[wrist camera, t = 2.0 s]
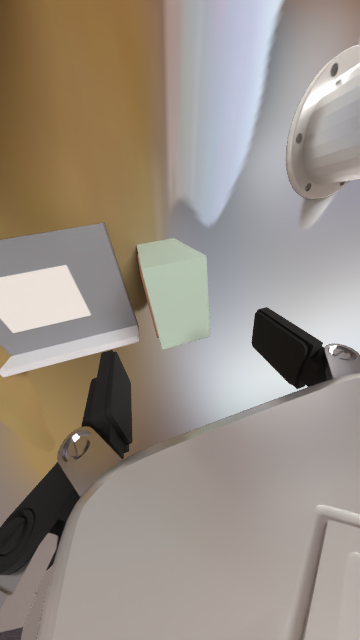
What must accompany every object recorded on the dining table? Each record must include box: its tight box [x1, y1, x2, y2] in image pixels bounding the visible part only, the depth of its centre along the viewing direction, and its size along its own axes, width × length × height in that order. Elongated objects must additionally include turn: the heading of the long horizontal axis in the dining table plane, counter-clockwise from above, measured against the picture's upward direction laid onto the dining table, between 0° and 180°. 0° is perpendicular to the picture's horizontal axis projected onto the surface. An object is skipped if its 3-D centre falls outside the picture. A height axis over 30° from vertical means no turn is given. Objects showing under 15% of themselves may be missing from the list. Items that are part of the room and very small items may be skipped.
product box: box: [137, 238, 210, 350], centre depth 20 cm, size 5×8×12 cm, turn 8°
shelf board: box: [0, 223, 139, 377], centre depth 21 cm, size 18×15×4 cm
